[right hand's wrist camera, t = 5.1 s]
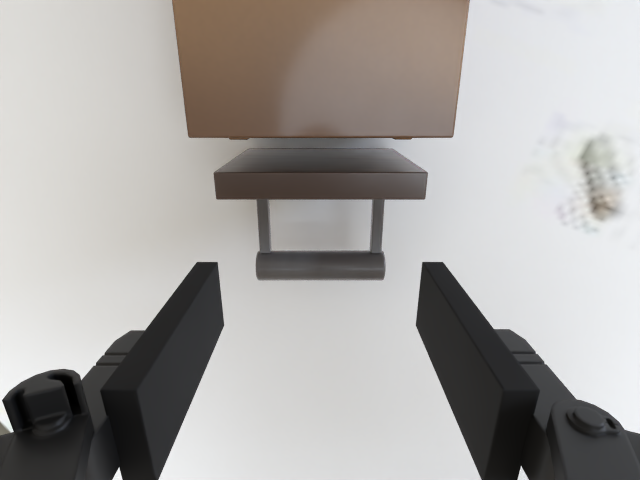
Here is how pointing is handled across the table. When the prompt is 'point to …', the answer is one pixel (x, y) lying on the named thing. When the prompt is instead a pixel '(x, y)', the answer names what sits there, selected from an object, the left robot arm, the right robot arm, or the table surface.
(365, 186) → the drawer
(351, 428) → the table surface
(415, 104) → the cabinet
